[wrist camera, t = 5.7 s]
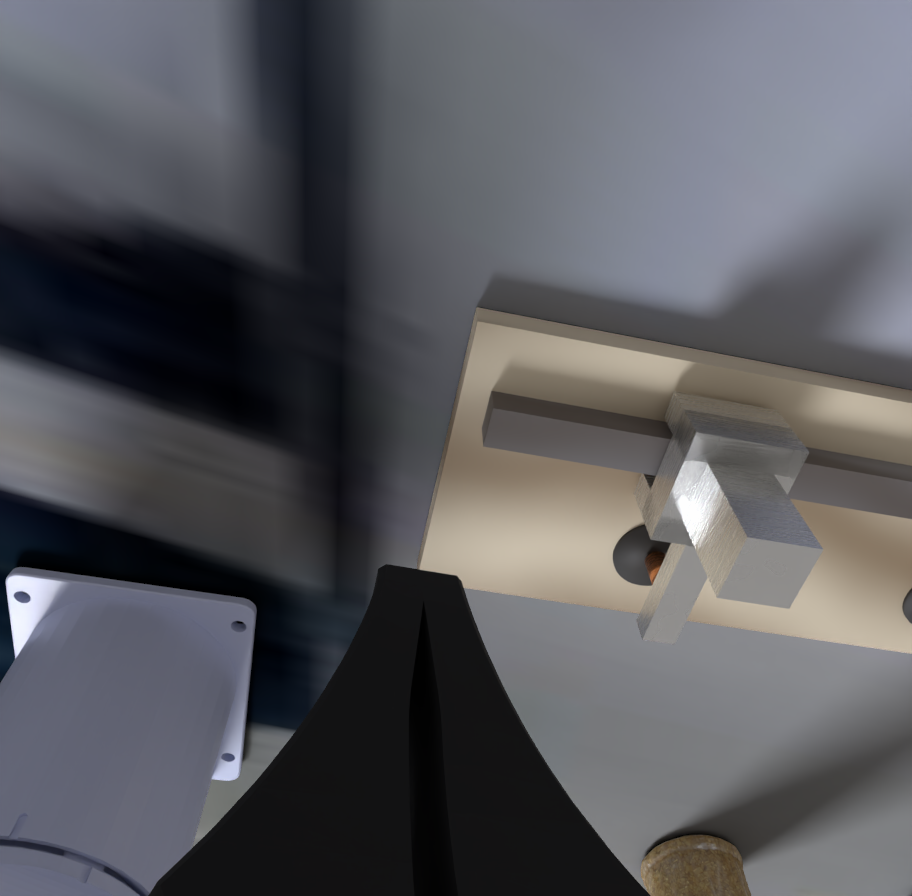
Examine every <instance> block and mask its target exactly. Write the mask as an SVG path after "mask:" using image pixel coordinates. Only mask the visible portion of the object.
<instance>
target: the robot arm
mask: <svg viewBox="0 0 912 896" xmlns="http://www.w3.org/2000/svg"><path fill="white" fill-rule="evenodd" d="M6 590H7V598H8V606H9V613H10V621H11V629H12V637H13V644H14V652H15V661H14V662H13V664H12V665H11V667H10V669H9V670H8V672H7V673H6V675H5V677H4V678H3V680H2V681H1V683H0V896H651V895H650V894H649V893H648V892H647V891H646V890H645V889H644V888H643V887H642V886H641V885H640V884H639V883H638V882H637V881H636V880H635V879H634V877H633V876H632V875H631V874H630V873H629V872H628V870H627V869H626V868H625V867H624V866H623V865H622V863H621V862H620V861H619V860H618V859H617V858H616V857H615V855H614V854H613V853H612V852H611V851H610V849H609V848H608V847H607V845H606V844H605V843H604V842H603V840H602V839H601V838H600V836H599V835H598V834H597V833H596V831H595V830H594V829H593V827H592V826H591V825H590V824H589V822H588V821H587V820H586V818H585V817H584V816H583V815H582V813H581V812H580V811H579V809H578V808H577V807H576V806H575V804H574V803H573V802H572V800H571V799H570V797H569V796H568V794H567V793H566V792H565V790H564V789H563V787H562V786H561V784H560V783H559V781H558V780H557V778H556V777H555V775H554V774H553V773H552V771H551V769H550V768H549V766H548V765H547V763H546V762H545V760H544V758H543V757H542V755H541V754H540V752H539V751H538V749H537V747H536V746H535V744H534V742H533V741H532V739H531V737H530V736H529V734H528V732H527V730H526V729H525V727H524V725H523V723H522V722H521V720H520V718H519V716H518V714H517V712H516V710H515V708H514V707H513V705H512V703H511V701H510V699H509V697H508V695H507V693H506V691H505V689H504V687H503V685H502V683H501V681H500V679H499V677H498V674H497V672H496V670H495V668H494V666H493V663H492V661H491V659H490V657H489V655H488V652H487V650H486V648H485V645H484V643H483V641H482V638H481V636H480V633H479V631H478V628H477V625H476V623H475V620H474V618H473V615H472V612H471V609H470V607H469V604H468V601H467V598H466V594H465V591H464V588H463V584H462V581H461V580H460V579H459V577H458V576H456V575H450V574H444V573H437V572H431V571H425V570H418V569H412V568H406V567H400V566H393V565H387V564H386V565H384V566H382V567H381V568H379V569H378V573H377V578H376V583H375V587H374V592H373V596H372V599H371V601H370V604H369V606H368V609H367V611H366V614H365V616H364V618H363V621H362V623H361V625H360V627H359V629H358V631H357V633H356V635H355V637H354V639H353V641H352V643H351V645H350V647H349V649H348V651H347V653H346V654H345V656H344V658H343V660H342V661H341V663H340V665H339V666H338V668H337V670H336V671H335V673H334V675H333V676H332V678H331V680H330V681H329V683H328V685H327V686H326V688H325V690H324V691H323V693H322V694H321V696H320V697H319V699H318V700H317V702H316V703H315V705H314V706H313V708H312V709H311V711H310V712H309V714H308V715H307V716H306V718H305V719H304V721H303V722H302V723H301V725H300V726H299V728H298V729H297V730H296V732H295V733H294V734H293V736H292V737H291V738H290V740H289V741H288V742H287V743H286V745H285V746H284V747H283V749H282V750H281V751H280V752H279V754H278V755H277V756H276V757H275V759H274V760H273V761H272V763H271V764H270V765H269V766H268V767H267V769H266V770H265V771H264V772H263V773H262V775H261V776H260V777H259V778H258V779H257V781H256V782H255V783H254V784H253V785H252V786H251V787H250V788H249V789H248V791H247V792H246V793H245V794H244V795H243V796H242V797H241V798H240V799H239V800H238V801H237V803H236V804H235V805H234V806H233V807H232V808H231V809H230V810H229V811H228V812H227V813H226V815H225V816H224V817H223V818H222V819H221V820H220V821H219V822H218V823H217V824H216V825H215V826H214V827H213V828H212V829H211V830H210V831H209V832H208V833H207V834H206V835H205V837H203V838H202V839H201V840H200V841H199V842H198V843H197V844H196V845H195V846H194V847H193V848H192V846H193V842H194V839H195V835H196V832H197V828H198V825H199V821H200V818H201V814H202V811H203V807H204V804H205V800H206V797H207V794H208V790H209V787H210V783H211V780H212V779H216V780H225V781H231V780H234V779H236V778H238V777H239V775H240V772H241V768H242V758H243V748H244V737H245V727H246V716H247V706H248V696H249V685H250V675H251V665H252V654H253V644H254V634H255V623H256V613H257V610H256V606H255V604H254V603H253V602H252V601H250V600H248V599H245V598H240V597H233V596H226V595H219V594H212V593H205V592H198V591H191V590H184V589H177V588H169V587H162V586H155V585H148V584H141V583H134V582H127V581H120V580H113V579H106V578H98V577H91V576H84V575H77V574H70V573H63V572H56V571H49V570H42V569H35V568H27V567H18V568H15V569H13V570H12V571H11V572H10V574H9V575H8V577H7V578H6ZM22 591H23V592H26V593H27V594H28V595H27V594H24V593H23V592H22ZM236 621H241V622H243V623H244V624H239V623H237V622H236Z"/></svg>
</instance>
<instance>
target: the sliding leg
mask: <svg viewBox="0 0 912 896" xmlns="http://www.w3.org/2000/svg"><path fill="white" fill-rule="evenodd" d="M664 418H665V420H666V422H667V424H668V426H669V428H670V430H671V432H672V434H673V436H672V438H671V441H670V443H669V446H668V448H667V450H666V453H665V455H664V458H663V460H662V463H661V465H660V468H659V470H658V472H657V475H656V476H654V475H648V474H642V473H641V475H640V477H639V480H638V482H637V485H636V487H635V490H634V492H633V493H634V496H635V498H636V501H637V504H638V506H639V509H640V512H641V515H642V517H643V520H644V523H645V526H646V528H647V531H648V534H649V536H650V539H651V540H656V541H663V542H669V543H671V544H670V547H669V549H668V551H667V553H666V554H664V553H663V552H660V551H655V552H652V553H650V554H648V555H647V556H646V558H645V561H644V562H645V565H646V568H647V571H648V574H649V577H650V580H651V583H652V587H651V589H650V591H649V594H648V596H647V598H646V600H645V603H644V605H643V607H642V609H641V612H640V614H639V616H638V618H637V623H638V627H639V630H640V634H641V637H642V640H647V641H654V642H661V643H668V644H675V643H676V641H677V639H678V637H679V635H680V633H681V631H682V629H683V626H684V624H685V622H686V620H687V618H688V616H689V614H690V612H691V610H692V608H693V606H694V604H695V602H696V600H697V598H698V596H699V594H700V592H701V590H702V588H703V586H704V584H705V582H706V580H707V578H708V579H709V582H710V584H711V586H712V588H713V591H714V593H715V595H716V598H721V599H727V600H734V601H740V602H747V603H754V604H760V605H767V606H773V607H780V608H786V609H789V608H790V607H791V605H792V603H793V601H794V600H795V598H796V596H797V595H798V593H799V591H800V589H801V588H802V586H803V584H804V582H805V581H806V579H807V577H808V576H809V574H810V572H811V570H812V569H813V567H814V565H815V563H816V562H817V560H818V558H819V557H820V555H821V553H822V551H823V548H822V546H821V545H820V543H819V542H818V540H817V539H816V537H815V536H814V534H813V533H812V531H811V530H810V528H809V527H808V525H807V524H806V522H805V521H804V519H803V518H802V516H801V515H800V513H799V512H798V510H797V509H796V507H795V506H794V504H793V503H792V501H791V500H790V498H789V497H788V495H787V494H788V493H789V491H790V489H791V487H792V485H793V483H794V481H795V479H796V477H797V475H798V473H799V472H800V470H801V468H802V466H803V464H804V462H805V460H806V458H807V456H808V454H809V451H808V450H807V448H806V447H805V446H804V444H803V443H802V442H801V441H800V439H799V438H798V437H797V435H796V434H795V433H794V431H793V430H792V429H791V428H790V426H789V425H788V424H787V422H786V421H785V420H784V418H783V417H782V416H781V414H780V413H779V412H778V411H777V410H774V409H769V408H763V407H758V406H752V405H747V404H742V403H736V402H731V401H725V400H720V399H714V398H709V397H703V396H698V395H693V394H687V393H682V392H676V391H674V392H673V394H672V397H671V399H670V402H669V404H668V407H667V409H666V412H665V414H664Z"/></svg>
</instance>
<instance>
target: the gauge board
mask: <svg viewBox="0 0 912 896" xmlns="http://www.w3.org/2000/svg"><path fill="white" fill-rule="evenodd" d="M674 391H676V392H682V393H687V394H693V395H698V396H703V397H709V398H714V399H720V400H725V401H731V402H736V403H742V404H747V405H752V406H758V407H763V408H769V409H774V410H777V411H778V412H779V413H780V414H781V416H782V417H783V418H784V420H785V421H786V422H787V424H788V425H789V426H790V428H791V429H792V430H793V431H794V433H795V434H796V435H797V437H798V438H799V439H800V441H801V442H802V443H803V444H804V446H805V447H806V448H807V450H808V451H809V454H808V456H807V458H806V460H805V462H804V464H803V466H802V468H801V470H800V472H799V473H798V475H797V477H796V479H795V481H794V483H793V485H792V487H791V489H790V491H789V493H788V494H787V495H788V497H789V498H790V500H791V501H792V503H793V504H794V506H795V507H796V509H797V510H798V512H799V513H800V515H801V516H802V518H803V519H804V521H805V522H806V524H807V525H808V527H809V528H810V530H811V531H812V533H813V534H814V536H815V537H816V539H817V540H818V542H819V543H820V545H821V546H822V548H823V551H822V553H821V555H820V557H819V558H818V560H817V562H816V563H815V565H814V567H813V569H812V570H811V572H810V574H809V576H808V577H807V579H806V581H805V582H804V584H803V586H802V588H801V589H800V591H799V593H798V595H797V596H796V598H795V600H794V601H793V603H792V605H791V607H790V608H789V609H786V608H780V607H773V606H767V605H760V604H754V603H747V602H740V601H734V600H727V599H721V598H716V595H715V593H714V591H713V588H712V586H711V584H710V582H709V579H708V578H707V580H706V582H705V584H704V586H703V588H702V590H701V592H700V594H699V596H698V598H697V600H696V602H695V604H694V606H693V608H692V610H691V612H690V614H689V616H688V618H687V620H686V621H693V622H700V623H706V624H713V625H720V626H727V627H734V628H740V629H747V630H754V631H761V632H767V633H774V634H781V635H788V636H795V637H801V638H808V639H815V640H822V641H829V642H835V643H842V644H849V645H856V646H863V647H869V648H876V649H883V650H890V651H897V652H903V653H910V654H912V390H907V389H902V388H896V387H891V386H886V385H881V384H875V383H870V382H865V381H860V380H855V379H849V378H844V377H839V376H834V375H828V374H823V373H818V372H813V371H808V370H802V369H797V368H792V367H787V366H781V365H776V364H771V363H766V362H760V361H755V360H750V359H745V358H740V357H734V356H729V355H724V354H719V353H713V352H708V351H703V350H698V349H693V348H687V347H682V346H677V345H672V344H666V343H661V342H656V341H651V340H645V339H640V338H635V337H630V336H625V335H619V334H614V333H609V332H604V331H598V330H593V329H588V328H583V327H578V326H572V325H567V324H562V323H557V322H551V321H546V320H541V319H536V318H530V317H525V316H520V315H515V314H510V313H504V312H499V311H494V310H489V309H483V308H478V307H476V311H475V315H474V320H473V324H472V328H471V333H470V337H469V341H468V346H467V350H466V354H465V359H464V363H463V367H462V371H461V376H460V380H459V384H458V389H457V393H456V397H455V402H454V406H453V410H452V415H451V419H450V423H449V427H448V432H447V436H446V440H445V445H444V449H443V453H442V458H441V462H440V466H439V471H438V475H437V479H436V483H435V488H434V492H433V496H432V501H431V505H430V509H429V514H428V518H427V522H426V527H425V531H424V535H423V539H422V544H421V548H420V552H419V557H418V563H417V569H418V570H425V571H431V572H437V573H444V574H450V575H456V576H458V577H459V579H460V580H461V581H462V584H463V588H469V589H475V590H482V591H489V592H496V593H503V594H509V595H516V596H523V597H530V598H537V599H543V600H550V601H557V602H564V603H571V604H577V605H584V606H591V607H598V608H605V609H611V610H618V611H625V612H632V613H638V614H640V612H641V609H642V607H643V605H644V603H645V600H646V598H647V596H648V594H649V591H650V589H651V587H652V583H651V580H650V577H649V574H648V571H647V568H646V565H645V562H644V561H645V558H646V556H647V555H648V554H650V553H652V552H655V551H660V552H663V553H664V554H666V553H667V551H668V549H669V547H670V544H671V543H669V542H663V541H656V540H651V539H650V536H649V534H648V531H647V528H646V526H645V523H644V520H643V517H642V515H641V512H640V509H639V506H638V504H637V501H636V498H635V496H634V493H633V492H634V490H635V487H636V485H637V482H638V480H639V477H640V475H641V473H642V474H648V475H654V476H656V475H657V472H658V470H659V468H660V465H661V463H662V460H663V458H664V455H665V453H666V450H667V448H668V446H669V443H670V441H671V438H672V436H673V434H672V432H671V430H670V428H669V426H668V424H667V422H666V420H665V418H664V414H665V412H666V409H667V407H668V404H669V402H670V399H671V397H672V394H673V392H674Z"/></svg>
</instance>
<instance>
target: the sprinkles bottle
mask: <svg viewBox="0 0 912 896" xmlns="http://www.w3.org/2000/svg"><path fill="white" fill-rule="evenodd" d="M641 877H642V879H643V881H644V885H645V887H646V888H647V891H648V893H649V894H650V895H651V896H751V893H750V891H749V888H748V884H747V882H746V879H745V875H744V872H743V862H742V858H741V855H740V853H739V852H738V850H737V848H736V847H735V846H734V845H732V844H731V843H729V842H727V841H724V840H723V839H720V838H718V837H713V836H709V835H686V836H682V837H679V838H675V839H672V840H669V841H666V842H664V843H662V844H660V845H658V846H656V847H655V848H654V849H653V850H652V851H651V852H650V853H649V854H647V856H646V857H645V858H644V859H643V861H642V865H641Z"/></svg>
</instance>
